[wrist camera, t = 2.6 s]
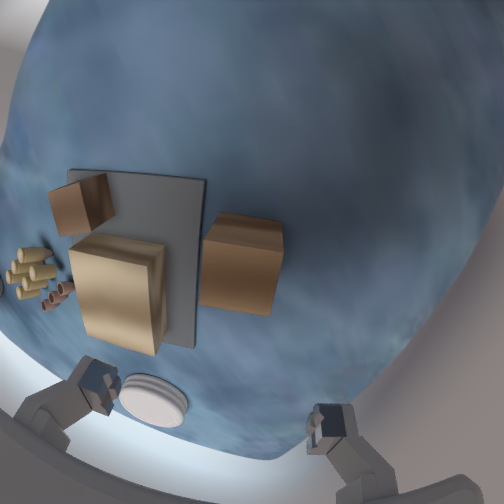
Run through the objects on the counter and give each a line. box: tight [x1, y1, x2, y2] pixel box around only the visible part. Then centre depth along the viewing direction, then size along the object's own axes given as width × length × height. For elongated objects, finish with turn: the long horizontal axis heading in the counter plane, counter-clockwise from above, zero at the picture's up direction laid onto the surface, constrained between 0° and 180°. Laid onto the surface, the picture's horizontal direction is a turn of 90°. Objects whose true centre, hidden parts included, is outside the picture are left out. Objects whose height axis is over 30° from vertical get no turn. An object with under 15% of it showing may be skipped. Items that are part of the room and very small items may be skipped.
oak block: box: [199, 212, 284, 316], centre depth 20 cm, size 5×5×6 cm
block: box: [48, 173, 115, 237], centre depth 20 cm, size 4×4×4 cm
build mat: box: [67, 169, 206, 349], centre depth 25 cm, size 18×14×1 cm
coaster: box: [119, 374, 188, 427], centre depth 33 cm, size 10×10×4 cm
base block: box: [68, 232, 167, 356], centre depth 23 cm, size 10×8×4 cm
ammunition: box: [6, 247, 76, 312], centre depth 25 cm, size 5×7×8 cm
